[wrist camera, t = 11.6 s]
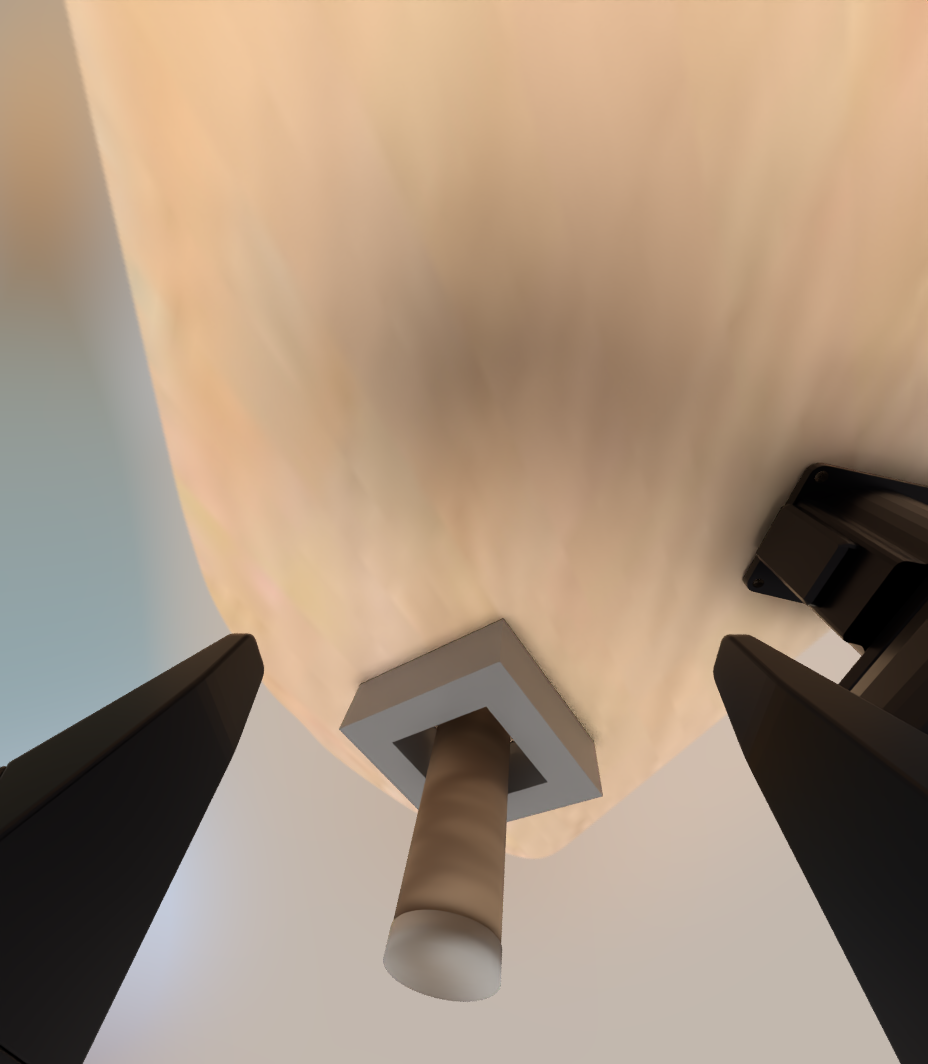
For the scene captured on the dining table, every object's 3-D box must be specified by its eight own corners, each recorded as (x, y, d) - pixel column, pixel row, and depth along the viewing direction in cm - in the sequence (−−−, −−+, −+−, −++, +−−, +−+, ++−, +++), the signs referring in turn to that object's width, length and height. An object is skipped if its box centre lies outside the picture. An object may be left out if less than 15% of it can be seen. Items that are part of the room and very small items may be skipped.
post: (499, 680, 26) (477, 942, 15) (521, 732, 28) (516, 1003, 17) (430, 692, 27) (364, 942, 16) (455, 742, 29) (410, 999, 18)
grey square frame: (503, 618, 24) (499, 661, 21) (594, 742, 27) (602, 796, 24) (360, 684, 28) (339, 729, 25) (454, 787, 31) (446, 838, 28)
